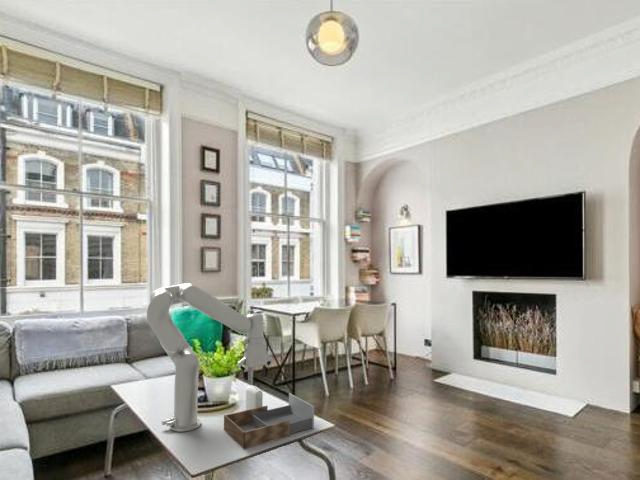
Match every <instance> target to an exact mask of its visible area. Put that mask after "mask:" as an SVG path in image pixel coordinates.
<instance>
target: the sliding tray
mask: <svg viewBox="0 0 640 480" xmlns="http://www.w3.org/2000/svg"><path fill="white" fill-rule="evenodd" d="M288 420H289V421H290V435H291V434H294V433H298V432H301V431H305V430H308V429H314V428H315V406H314V405H312V404H310V403H309V402H307V401H305V400H303V399H302V398H300V397H298V396H296V395H294V394H292V393H291V392H288V405H284V406H280V407H276V408H275V407H274V408H271V409H268V410H266V411H262V412H258V413H253V414H251V424H250V425H252V426H254V427H255V429H258V428H261V427H265V426H269V425H273V424H277V423H281V422H284V421H288Z"/></svg>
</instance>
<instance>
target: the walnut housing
mask: <svg viewBox="0 0 640 480" xmlns="http://www.w3.org/2000/svg"><path fill="white" fill-rule="evenodd" d="M266 410H269V409H268V405H264V406H263V405H262V407H259V408H254V409H250V410H246V409H245V410H241V411H237V412H233V413H228V414H224V415H223V431H225V433H226V434H227V435H228V436H229V437H231V438H232V439H233V441H235V442H236V443H237V444H238V445H239V447H241V448H242V449H243V450H245V449H249V448H252V447H256V446H259V445H262V444H266V443H270V442H273V441H276V440H279V439H283V438H286V437H290V435H291V434H290V421H289V420H288V421H284V422H281V423H277V424H273V425H269V426H265V427H261V428H253V429H251V430H248V431H245V430H243V429H242V428H241V427H243V426H248V425H252V424H251V414H253V413H258V412H262V411H266Z"/></svg>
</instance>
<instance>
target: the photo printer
mask: <svg viewBox="0 0 640 480" xmlns="http://www.w3.org/2000/svg"><path fill="white" fill-rule="evenodd" d="M259 407H263V392H262V390H261V389H260V388H259V387H257V386H256V385H248V386H247V387H246V389H245V410H250V409H254V408H259Z"/></svg>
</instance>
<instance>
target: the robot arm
mask: <svg viewBox="0 0 640 480" xmlns="http://www.w3.org/2000/svg"><path fill="white" fill-rule="evenodd" d="M149 297H150V299H149V301H150V302H149V304H148V305H147V310H146V320H147V323H148V324H149V326H150V327H151V328H150V329H151V330H152V331H153V333H154V335H155V337H156V338H157V339H158V340H159V343H160V346H161V347H162V349H163V350H164V351H165V353H166V354H167V356H168V357H169V359H170V360H171V362H172V363H173V365H174V367H175V374H174V390H173V391H174V394H173V395H174V396H173V397H174V398H173V399H174V400H173V402H174V403H173V414H172V415H171V417H169V418H168V419H162V420H161V425H162V426H165V425H166V427H168V426H169V429H170V430H172V431H174V432H180V433H181V432H183V433H184V432H188V431H194V430H195V429H198V428H200V426H201V425H202V420H201V419H200V418H198V401H199V400H198V399H199V398H198V393H199V391H198V389H199V387H198V386H199V373H200V358H199V357H198V355H197V354H196V352H195V351H194V350H193V348H192V347H191V346H190V344H189V343H188V341H187V339H186V338H185V336H184V334H183V333H182V331H181V330H179V328H178V326H177V325H176V323H175V322H174V320H173V319H172V317H171V315H170V308H171V307H172V306H174V305H178V304H183V303H185V304H186V305H188V306H189V307H191V308H193V309H195V310H197V311H198V312H200V313H202V314H204V315H206V316H207V317H208V318H210V319H212V320H215V321H217V322H219V323H221V324H223V325H224V326H227V327H228V328H230V329H232V330H233V331H235V332H236V333H238V334H240V335H241V334H243V335H244V334H246V339H244V341H243V342H244V343H246V344H245V346H244V355H243V358H241V359H240V360H239V361H237V366H238V367H239V369H240V370H241V371H242V378H243V380H245V381H246V382H247V381H249V371H248V370H249V368H256V367H260V366H262V375H263V376H264V377H268V373H269V372H268V368H270V367H269V366H270V364H271V363H272V360H273V356H271V355H269V354H268V353H267V345H266V343H265V342H264V315H263V314H262V313H257V312H256V313H249V314H247V313H244V314H243V313H240V312H238V311H237V310H235V309H233V308H232V307H230V306H229V305H227V304H226V303H225V302H223V301H222V300H220V299H218V298H217V297H216V296H214V295H212V294H211V293H208V292H207V291H205V290H204V289H202V288H201V287H199V286H197V285H195V284H193V283H189V282H186V283H181V284H177V285H171V286H166V287H165V286H164V287H160V288H157V289H155V290H154V291H153V292H152V293H151V294H150V296H149ZM243 363H244V365H243Z"/></svg>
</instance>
